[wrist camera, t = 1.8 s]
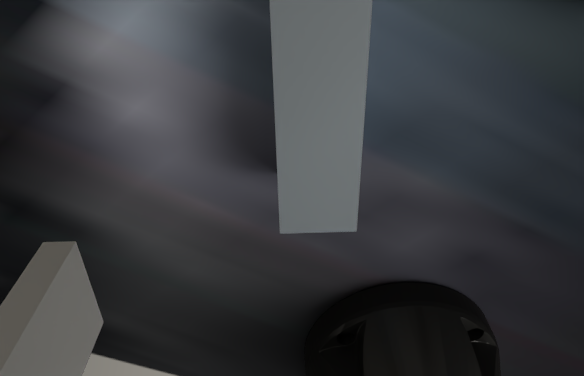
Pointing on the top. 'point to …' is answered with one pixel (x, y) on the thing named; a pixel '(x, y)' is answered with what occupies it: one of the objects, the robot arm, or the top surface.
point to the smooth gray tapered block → (319, 110)
